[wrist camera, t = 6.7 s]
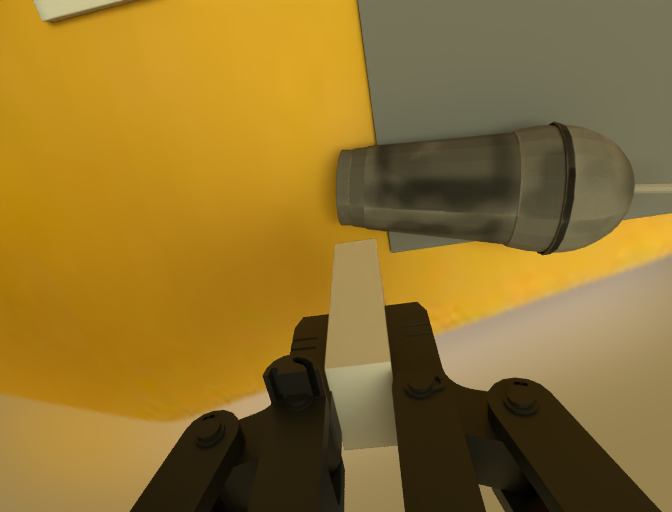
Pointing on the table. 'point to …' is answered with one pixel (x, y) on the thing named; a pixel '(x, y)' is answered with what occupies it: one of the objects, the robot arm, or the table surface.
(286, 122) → the table surface
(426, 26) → the mat
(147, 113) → the table surface
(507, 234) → the beverage cup
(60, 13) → the external hard drive
